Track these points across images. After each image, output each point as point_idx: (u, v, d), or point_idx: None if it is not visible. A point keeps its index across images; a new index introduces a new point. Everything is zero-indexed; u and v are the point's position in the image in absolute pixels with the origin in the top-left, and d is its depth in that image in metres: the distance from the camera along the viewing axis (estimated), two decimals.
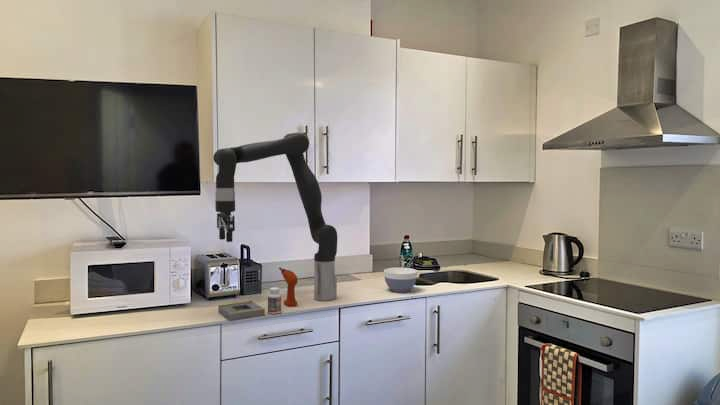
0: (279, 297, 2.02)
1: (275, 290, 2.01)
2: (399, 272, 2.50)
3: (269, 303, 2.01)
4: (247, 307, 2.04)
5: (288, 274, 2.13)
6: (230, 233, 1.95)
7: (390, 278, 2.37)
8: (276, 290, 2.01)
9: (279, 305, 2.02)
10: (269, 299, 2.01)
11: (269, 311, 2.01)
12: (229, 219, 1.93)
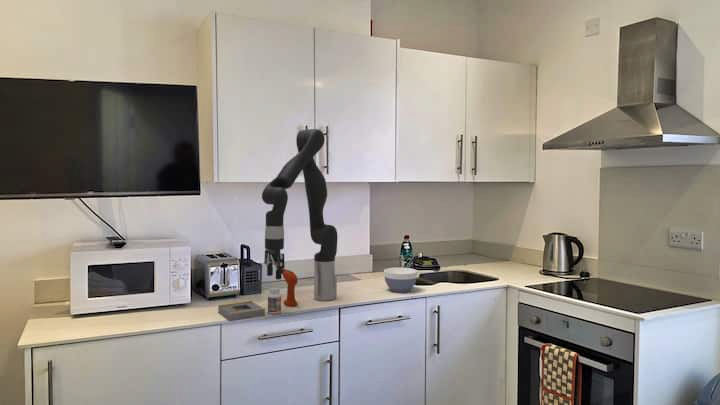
0: (279, 297, 2.02)
1: (275, 290, 2.01)
2: (399, 272, 2.50)
3: (269, 303, 2.01)
4: (247, 307, 2.04)
5: (288, 274, 2.13)
6: (279, 271, 1.98)
7: (390, 278, 2.37)
8: (276, 290, 2.01)
9: (279, 305, 2.02)
10: (269, 299, 2.01)
11: (269, 311, 2.01)
12: (279, 257, 1.96)
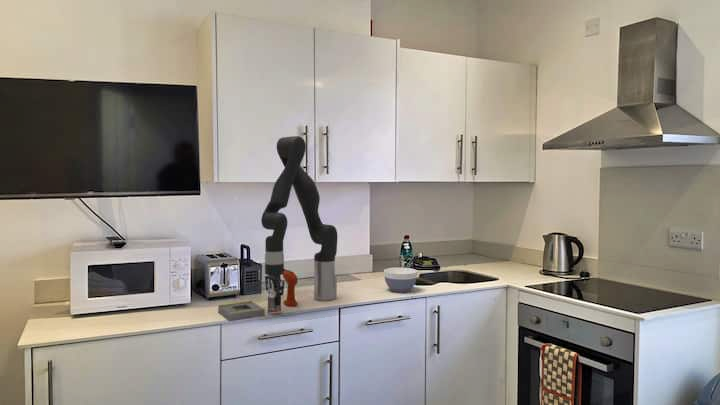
0: None
1: None
2: (399, 272, 2.50)
3: (269, 303, 2.01)
4: (247, 307, 2.04)
5: (288, 274, 2.13)
6: (278, 297, 2.00)
7: (391, 278, 2.37)
8: None
9: None
10: (269, 299, 2.01)
11: (269, 311, 2.01)
12: (279, 285, 1.97)
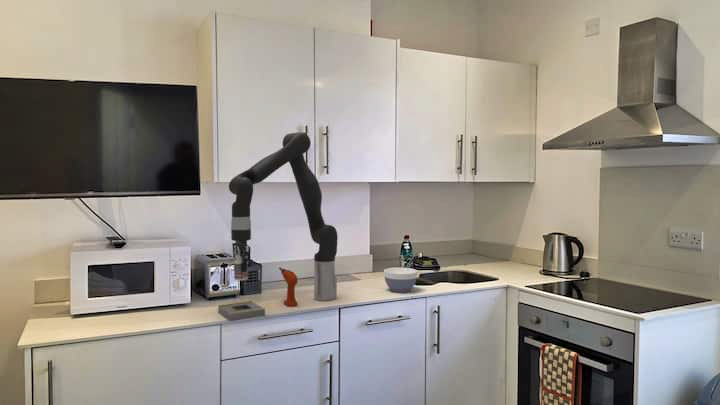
0: None
1: None
2: (399, 272, 2.50)
3: (235, 269, 1.98)
4: (247, 307, 2.04)
5: (288, 274, 2.13)
6: (245, 263, 1.96)
7: (391, 278, 2.37)
8: None
9: (246, 272, 1.98)
10: (236, 265, 1.97)
11: (235, 278, 1.98)
12: (245, 251, 1.94)
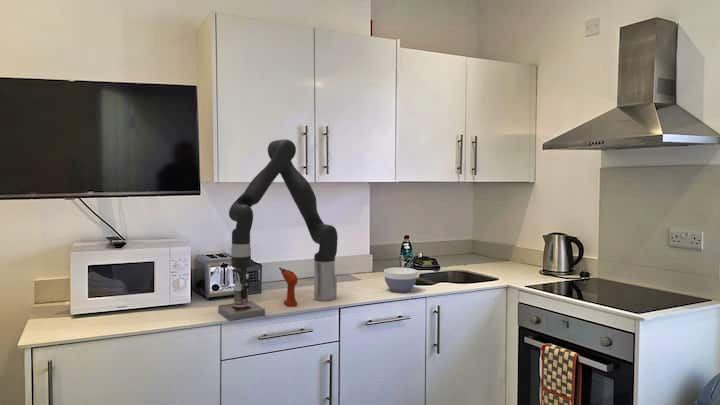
0: None
1: None
2: (399, 272, 2.50)
3: (235, 296, 1.98)
4: (247, 307, 2.04)
5: (288, 274, 2.13)
6: (245, 290, 1.97)
7: (391, 278, 2.37)
8: None
9: None
10: (236, 292, 1.98)
11: (235, 304, 1.99)
12: (245, 278, 1.94)
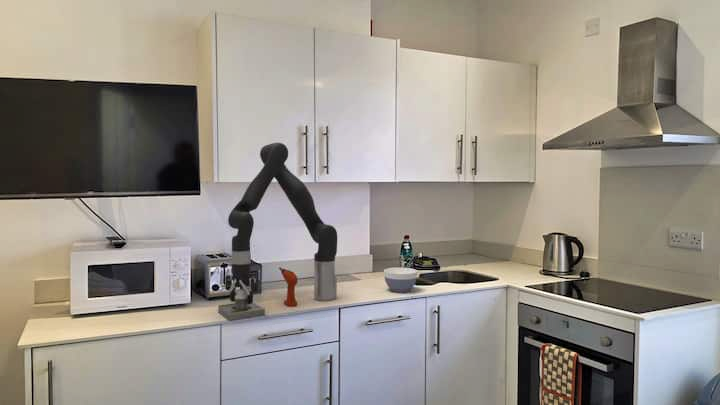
0: None
1: (244, 291, 1.99)
2: (399, 272, 2.50)
3: (239, 305, 1.98)
4: None
5: (288, 274, 2.13)
6: (251, 295, 1.98)
7: (390, 278, 2.37)
8: (245, 291, 2.00)
9: (248, 305, 2.01)
10: (239, 301, 1.98)
11: None
12: (253, 282, 1.96)
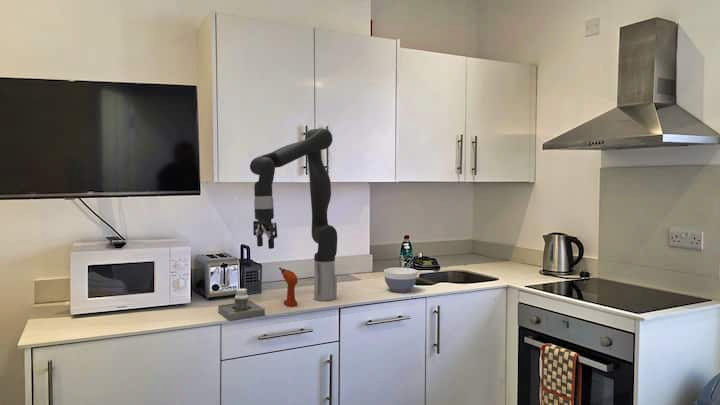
0: (248, 297, 2.00)
1: (244, 291, 1.99)
2: (399, 272, 2.50)
3: (239, 305, 1.98)
4: None
5: (288, 274, 2.13)
6: (272, 240, 2.00)
7: (390, 278, 2.37)
8: (245, 291, 2.00)
9: (248, 306, 2.01)
10: (239, 301, 1.98)
11: None
12: (272, 226, 1.97)
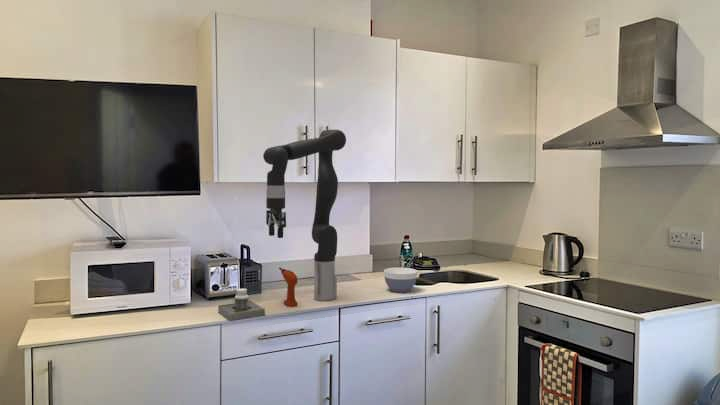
0: (248, 297, 2.00)
1: (244, 291, 1.99)
2: (399, 272, 2.50)
3: (239, 305, 1.98)
4: None
5: (288, 274, 2.13)
6: (281, 229, 2.01)
7: (390, 278, 2.37)
8: (245, 291, 2.00)
9: (248, 306, 2.01)
10: (239, 301, 1.98)
11: None
12: (281, 216, 1.99)
